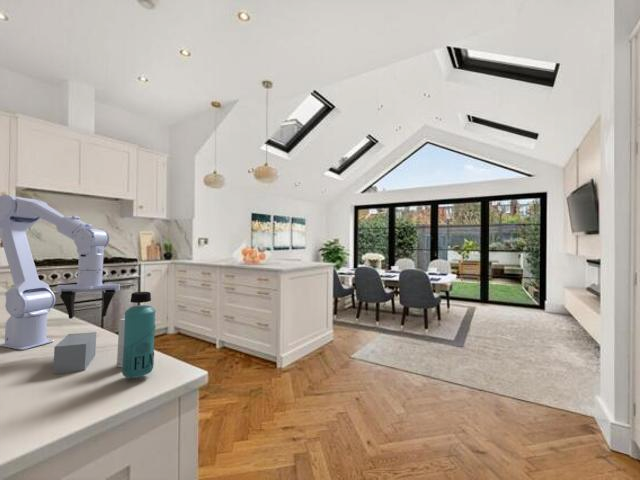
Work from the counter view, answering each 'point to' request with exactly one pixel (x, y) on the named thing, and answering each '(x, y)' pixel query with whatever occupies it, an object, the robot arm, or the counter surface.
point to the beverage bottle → (139, 337)
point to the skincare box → (120, 343)
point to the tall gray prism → (74, 352)
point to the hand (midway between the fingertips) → (88, 316)
